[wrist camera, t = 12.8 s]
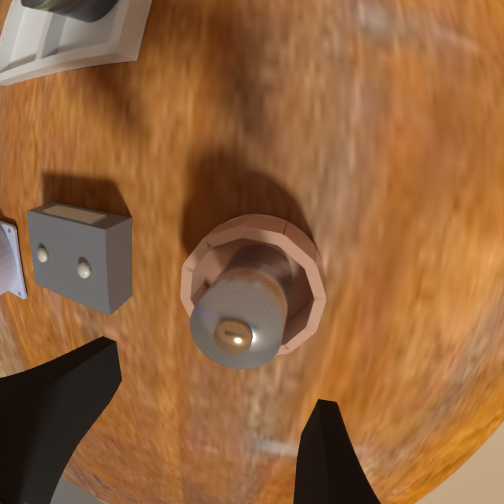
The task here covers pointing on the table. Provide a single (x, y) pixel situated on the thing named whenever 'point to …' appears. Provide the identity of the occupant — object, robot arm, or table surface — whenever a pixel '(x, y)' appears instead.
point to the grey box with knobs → (82, 254)
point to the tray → (68, 40)
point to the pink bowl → (276, 236)
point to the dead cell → (244, 309)
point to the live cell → (73, 8)
